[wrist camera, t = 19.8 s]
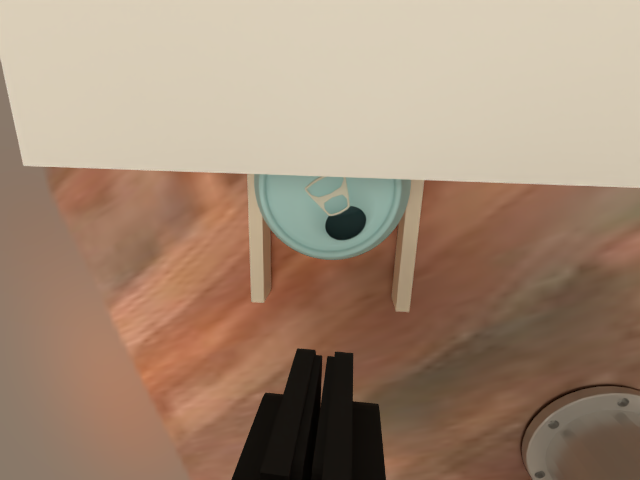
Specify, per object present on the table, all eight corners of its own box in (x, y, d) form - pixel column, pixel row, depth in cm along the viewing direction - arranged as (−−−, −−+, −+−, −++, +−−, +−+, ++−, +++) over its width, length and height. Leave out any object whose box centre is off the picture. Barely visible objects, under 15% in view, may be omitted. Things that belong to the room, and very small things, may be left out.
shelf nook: (422, 298, 27) (538, 534, 10) (242, 287, 28) (92, 486, 12) (453, 51, 22) (765, -232, 6) (232, 49, 23) (-54, -193, 7)
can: (403, 148, 24) (455, 149, 12) (356, 231, 26) (364, 300, 14) (316, 102, 23) (286, 59, 12) (276, 190, 25) (216, 226, 14)
